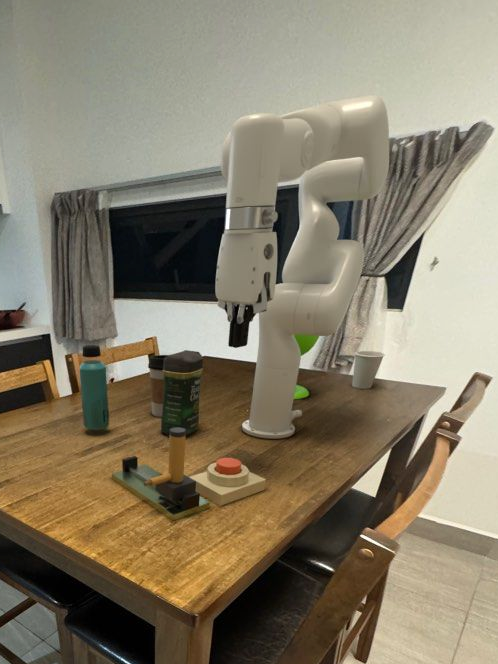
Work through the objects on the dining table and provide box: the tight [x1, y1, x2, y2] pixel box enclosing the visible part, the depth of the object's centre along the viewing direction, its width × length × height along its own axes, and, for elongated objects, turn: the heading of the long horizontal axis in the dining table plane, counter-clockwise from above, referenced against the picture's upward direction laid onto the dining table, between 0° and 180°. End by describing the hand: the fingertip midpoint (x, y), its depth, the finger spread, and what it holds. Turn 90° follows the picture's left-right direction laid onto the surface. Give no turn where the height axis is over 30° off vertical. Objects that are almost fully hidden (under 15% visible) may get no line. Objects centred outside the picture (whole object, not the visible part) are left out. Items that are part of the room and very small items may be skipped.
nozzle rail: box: [111, 455, 211, 522], centre depth 82 cm, size 8×20×4 cm, turn 33°
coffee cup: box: [147, 354, 169, 418], centre depth 119 cm, size 8×8×15 cm
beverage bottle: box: [78, 344, 110, 431], centre depth 106 cm, size 6×7×20 cm
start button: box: [215, 457, 242, 475], centre depth 82 cm, size 4×4×2 cm
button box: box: [188, 461, 267, 507], centre depth 83 cm, size 11×9×4 cm
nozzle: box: [144, 427, 196, 504], centre depth 74 cm, size 9×5×12 cm, turn 123°
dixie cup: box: [351, 350, 385, 390], centre depth 141 cm, size 8×8×10 cm
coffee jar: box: [160, 349, 204, 437], centre depth 106 cm, size 10×8×19 cm
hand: (237, 345), depth 81 cm, fingers closed
